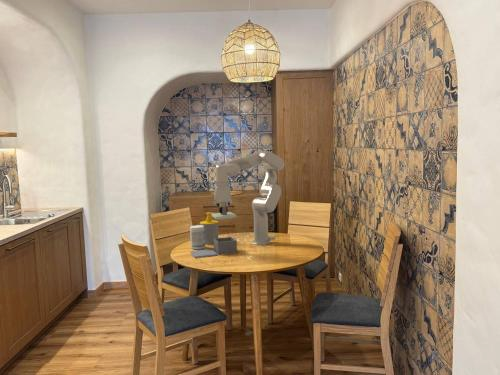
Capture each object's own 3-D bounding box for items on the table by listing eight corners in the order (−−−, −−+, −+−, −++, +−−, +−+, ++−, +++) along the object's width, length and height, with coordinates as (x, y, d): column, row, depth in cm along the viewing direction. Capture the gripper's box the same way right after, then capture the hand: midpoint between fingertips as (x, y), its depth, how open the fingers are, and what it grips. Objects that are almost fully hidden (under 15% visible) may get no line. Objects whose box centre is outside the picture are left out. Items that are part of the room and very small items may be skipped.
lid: (230, 215, 275) (230, 204, 274) (236, 218, 263) (236, 206, 262) (211, 217, 271) (210, 205, 270) (216, 220, 259) (215, 208, 258)
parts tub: (231, 248, 277) (231, 236, 276) (236, 252, 265) (236, 240, 265) (213, 250, 273) (213, 238, 272) (218, 255, 262) (217, 242, 261)
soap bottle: (220, 244, 291) (218, 213, 289) (201, 245, 289) (199, 214, 287) (218, 239, 304) (217, 210, 302) (200, 241, 302) (199, 211, 300)
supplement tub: (207, 248, 280) (206, 226, 279) (194, 250, 275) (193, 228, 274) (201, 245, 288) (200, 224, 287) (188, 247, 283) (187, 226, 282)
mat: (212, 250, 274) (212, 249, 274) (217, 255, 260) (217, 254, 260) (190, 252, 269) (190, 251, 269) (194, 258, 256) (194, 256, 256)
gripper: (232, 183, 271) (233, 211, 273) (208, 184, 266) (209, 213, 268) (236, 184, 264) (237, 213, 266) (211, 185, 259) (212, 215, 261)
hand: (223, 213), depth 267 cm, fingers closed on lid
